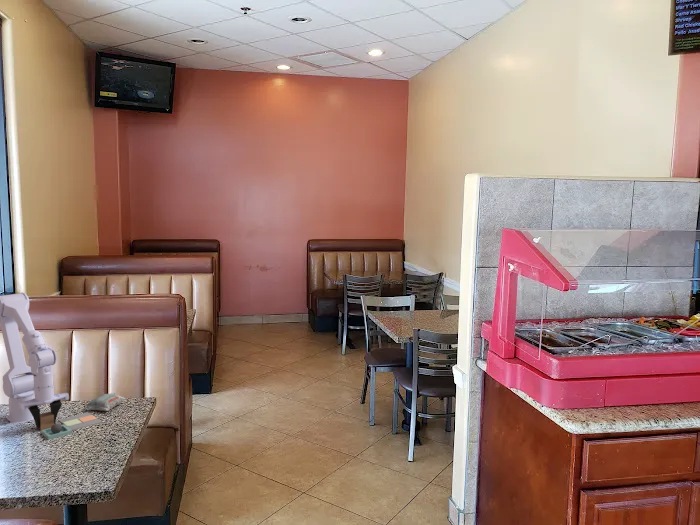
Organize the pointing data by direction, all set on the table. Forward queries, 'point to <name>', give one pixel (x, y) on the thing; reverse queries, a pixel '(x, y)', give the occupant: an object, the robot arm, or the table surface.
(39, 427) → the robot arm
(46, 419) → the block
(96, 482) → the table surface
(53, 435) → the dish
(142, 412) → the table surface
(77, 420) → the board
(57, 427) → the ball
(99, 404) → the packaged food
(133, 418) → the table surface
